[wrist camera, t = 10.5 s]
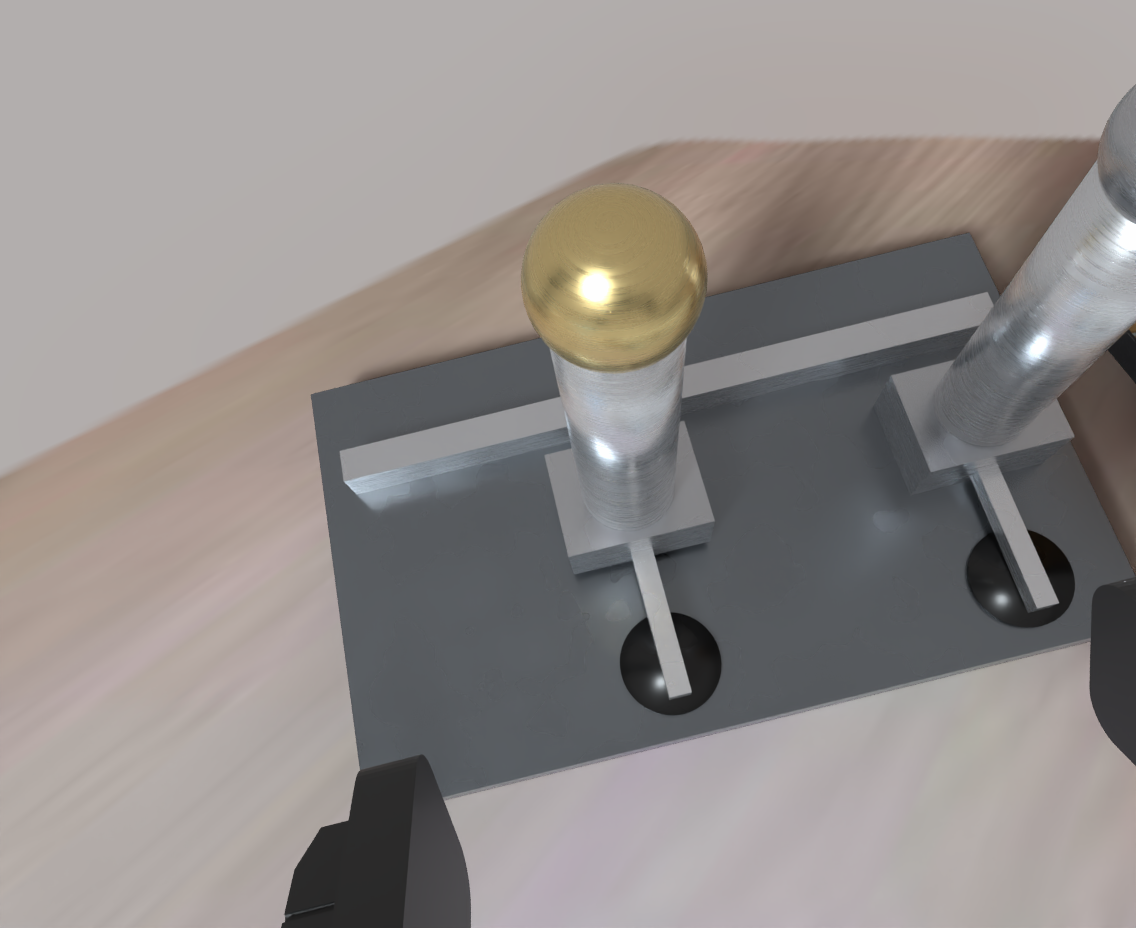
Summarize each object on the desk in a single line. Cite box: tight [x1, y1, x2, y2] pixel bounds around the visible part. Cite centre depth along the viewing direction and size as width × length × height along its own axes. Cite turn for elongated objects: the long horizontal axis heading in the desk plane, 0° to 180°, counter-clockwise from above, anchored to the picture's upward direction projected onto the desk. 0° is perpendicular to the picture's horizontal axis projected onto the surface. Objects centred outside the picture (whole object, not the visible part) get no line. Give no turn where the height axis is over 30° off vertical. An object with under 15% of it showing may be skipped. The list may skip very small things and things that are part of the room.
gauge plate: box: [311, 233, 1136, 800], centre depth 26 cm, size 22×13×3 cm, turn 103°
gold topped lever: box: [521, 183, 715, 700], centre depth 18 cm, size 4×7×14 cm, turn 13°
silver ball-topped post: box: [874, 85, 1136, 613], centre depth 19 cm, size 4×7×14 cm, turn 13°
